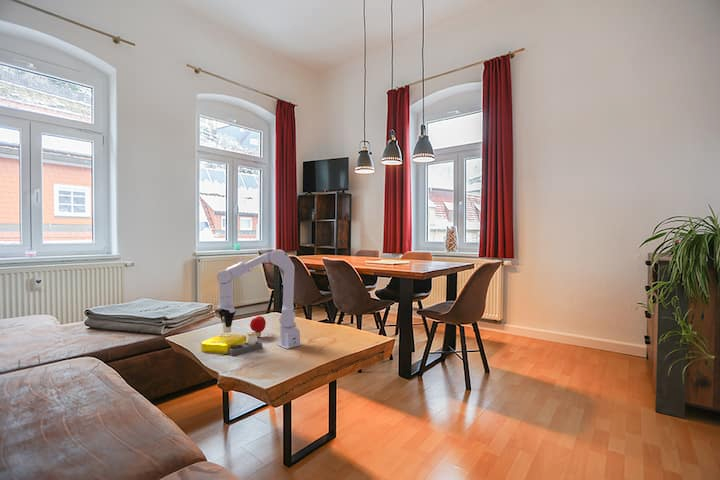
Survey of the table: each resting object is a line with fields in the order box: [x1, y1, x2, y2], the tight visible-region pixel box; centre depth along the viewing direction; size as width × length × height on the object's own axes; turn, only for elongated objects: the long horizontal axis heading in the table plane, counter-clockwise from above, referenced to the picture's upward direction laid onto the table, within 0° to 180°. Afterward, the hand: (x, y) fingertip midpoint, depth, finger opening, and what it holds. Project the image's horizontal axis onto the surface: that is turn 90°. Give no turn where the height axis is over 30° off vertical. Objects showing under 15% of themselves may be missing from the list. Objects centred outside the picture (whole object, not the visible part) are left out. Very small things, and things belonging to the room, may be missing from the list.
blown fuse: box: [221, 316, 232, 334], centre depth 162 cm, size 4×4×7 cm
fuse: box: [246, 331, 257, 346], centre depth 160 cm, size 4×4×7 cm
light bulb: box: [249, 315, 267, 338], centre depth 177 cm, size 9×7×10 cm
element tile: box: [200, 333, 248, 355], centre depth 163 cm, size 15×15×5 cm
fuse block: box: [227, 339, 263, 357], centre depth 158 cm, size 6×14×2 cm, turn 131°
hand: (226, 325), depth 162 cm, fingers closed on blown fuse, 4 cm apart
